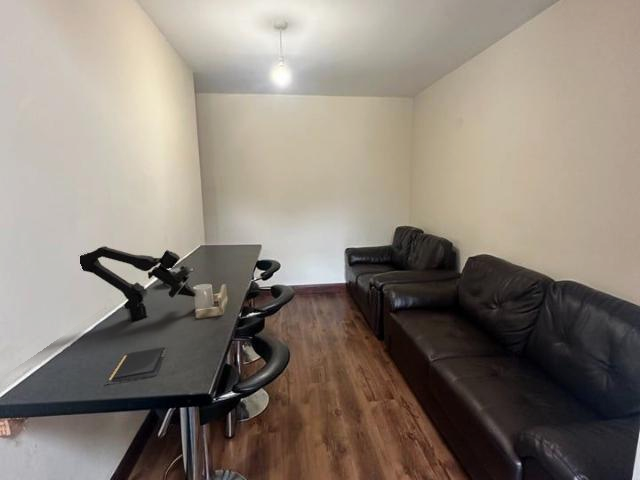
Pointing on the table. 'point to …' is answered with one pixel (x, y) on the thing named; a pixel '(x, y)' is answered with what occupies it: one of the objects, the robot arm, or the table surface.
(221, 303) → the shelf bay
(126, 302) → the robot arm
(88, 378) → the table surface
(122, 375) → the dark grey notebook
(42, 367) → the table surface
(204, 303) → the cup
